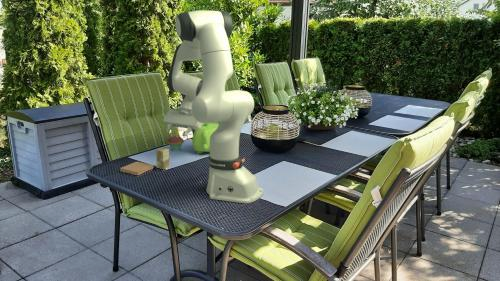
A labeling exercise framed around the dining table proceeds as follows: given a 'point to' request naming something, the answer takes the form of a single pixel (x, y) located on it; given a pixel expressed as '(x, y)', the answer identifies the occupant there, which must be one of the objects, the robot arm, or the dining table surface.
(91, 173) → the dining table surface
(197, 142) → the teapot
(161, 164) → the post
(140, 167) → the tile
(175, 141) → the cupcake
